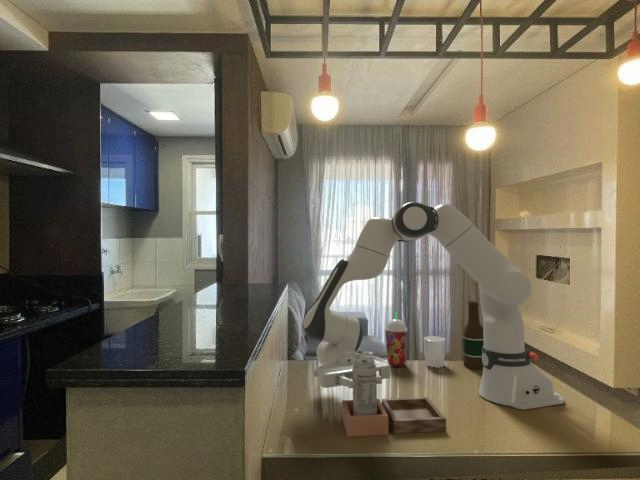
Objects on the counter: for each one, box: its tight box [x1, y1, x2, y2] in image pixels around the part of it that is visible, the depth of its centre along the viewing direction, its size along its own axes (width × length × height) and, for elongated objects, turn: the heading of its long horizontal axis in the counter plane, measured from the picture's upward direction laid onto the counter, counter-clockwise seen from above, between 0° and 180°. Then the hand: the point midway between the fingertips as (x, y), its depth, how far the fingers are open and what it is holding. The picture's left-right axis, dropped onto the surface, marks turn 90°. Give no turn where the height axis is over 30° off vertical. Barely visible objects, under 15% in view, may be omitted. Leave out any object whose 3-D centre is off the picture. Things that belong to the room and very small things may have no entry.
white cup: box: [423, 335, 446, 369], centre depth 142 cm, size 8×8×10 cm
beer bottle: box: [462, 300, 484, 370], centre depth 140 cm, size 8×8×24 cm
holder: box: [341, 398, 389, 438], centre depth 95 cm, size 10×10×4 cm
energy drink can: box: [352, 358, 378, 416], centre depth 96 cm, size 6×6×15 cm
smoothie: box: [384, 311, 408, 367], centre depth 143 cm, size 8×8×20 cm
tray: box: [381, 396, 447, 434], centre depth 98 cm, size 13×13×3 cm
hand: (366, 382), depth 95 cm, fingers closed on energy drink can, 6 cm apart
